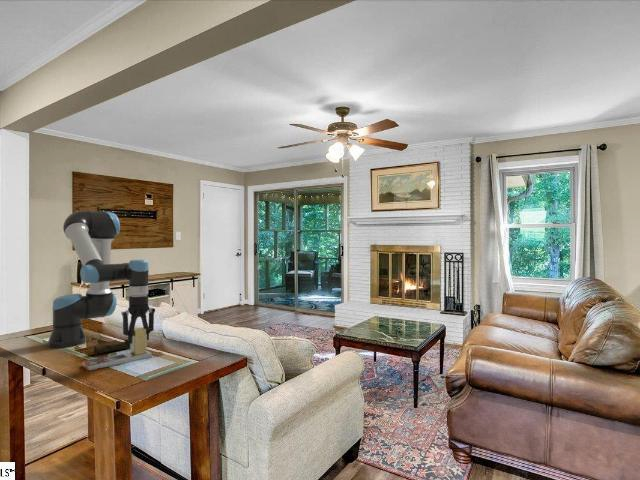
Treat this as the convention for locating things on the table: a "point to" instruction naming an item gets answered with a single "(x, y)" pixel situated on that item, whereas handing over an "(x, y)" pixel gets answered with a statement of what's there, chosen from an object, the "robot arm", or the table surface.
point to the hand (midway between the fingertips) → (138, 349)
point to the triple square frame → (113, 360)
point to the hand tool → (111, 347)
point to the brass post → (139, 341)
